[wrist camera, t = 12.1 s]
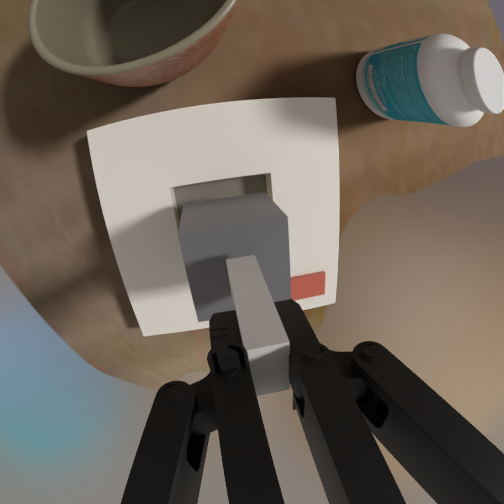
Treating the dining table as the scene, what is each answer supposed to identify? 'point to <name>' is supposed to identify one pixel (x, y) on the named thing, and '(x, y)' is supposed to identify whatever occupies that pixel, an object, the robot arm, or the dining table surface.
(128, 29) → the planter
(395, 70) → the pill bottle
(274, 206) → the plug
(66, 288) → the dining table surface
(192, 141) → the socket plate
